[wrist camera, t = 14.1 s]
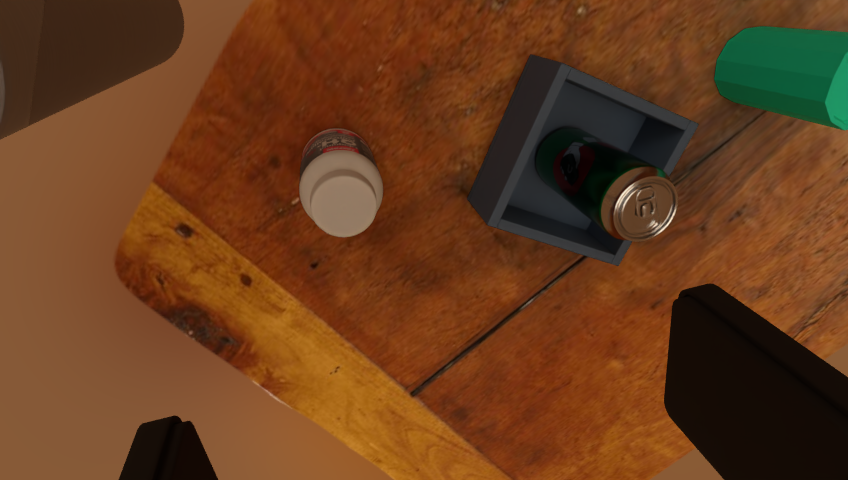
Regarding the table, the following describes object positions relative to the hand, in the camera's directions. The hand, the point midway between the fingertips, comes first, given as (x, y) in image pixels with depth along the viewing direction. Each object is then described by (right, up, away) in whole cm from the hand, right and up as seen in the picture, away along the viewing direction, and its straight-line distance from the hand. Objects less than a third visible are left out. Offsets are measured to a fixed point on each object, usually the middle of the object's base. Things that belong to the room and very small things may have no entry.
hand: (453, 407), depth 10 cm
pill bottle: (-7, +9, +30) cm, 32 cm away
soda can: (+11, +10, +33) cm, 36 cm away
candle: (+26, +18, +33) cm, 46 cm away
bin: (+11, +10, +33) cm, 37 cm away
